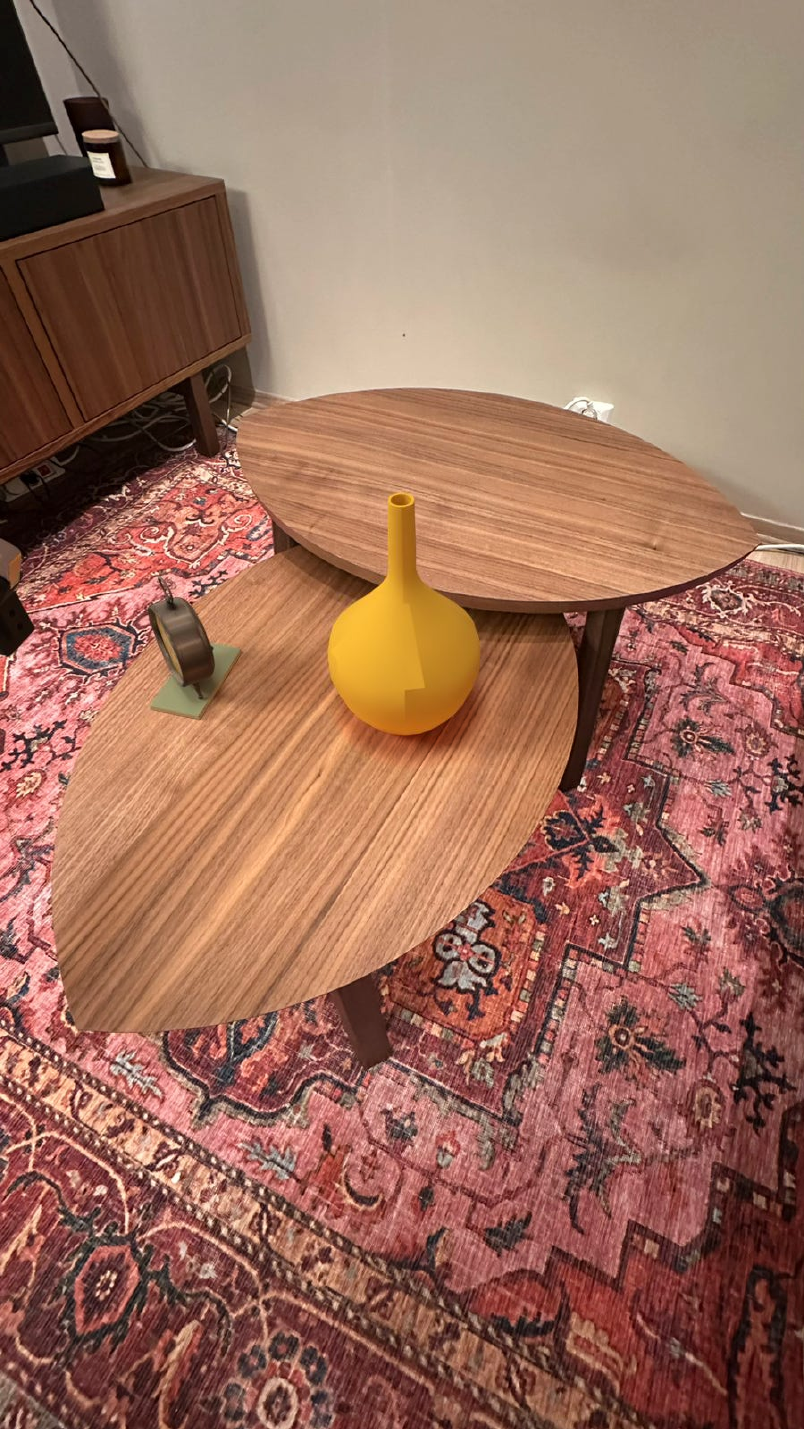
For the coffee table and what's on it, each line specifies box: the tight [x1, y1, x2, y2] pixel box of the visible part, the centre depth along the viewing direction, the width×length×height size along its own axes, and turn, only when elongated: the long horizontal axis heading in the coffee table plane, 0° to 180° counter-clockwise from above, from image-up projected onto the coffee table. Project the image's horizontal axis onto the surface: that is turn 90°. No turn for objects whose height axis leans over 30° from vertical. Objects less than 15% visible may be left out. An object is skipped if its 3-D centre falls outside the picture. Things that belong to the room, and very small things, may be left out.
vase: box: [326, 492, 482, 736], centre depth 78 cm, size 18×18×30 cm
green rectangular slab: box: [149, 642, 243, 721], centre depth 92 cm, size 13×7×1 cm, turn 164°
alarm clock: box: [147, 575, 215, 699], centre depth 86 cm, size 11×5×16 cm, turn 34°
